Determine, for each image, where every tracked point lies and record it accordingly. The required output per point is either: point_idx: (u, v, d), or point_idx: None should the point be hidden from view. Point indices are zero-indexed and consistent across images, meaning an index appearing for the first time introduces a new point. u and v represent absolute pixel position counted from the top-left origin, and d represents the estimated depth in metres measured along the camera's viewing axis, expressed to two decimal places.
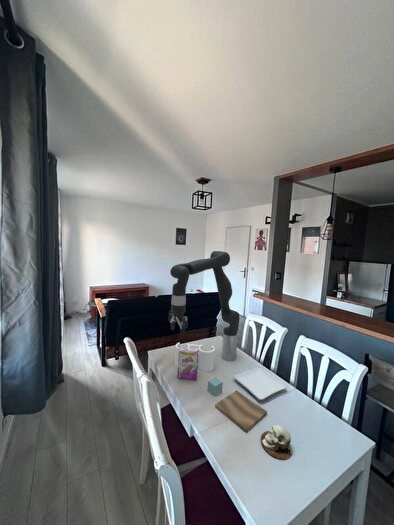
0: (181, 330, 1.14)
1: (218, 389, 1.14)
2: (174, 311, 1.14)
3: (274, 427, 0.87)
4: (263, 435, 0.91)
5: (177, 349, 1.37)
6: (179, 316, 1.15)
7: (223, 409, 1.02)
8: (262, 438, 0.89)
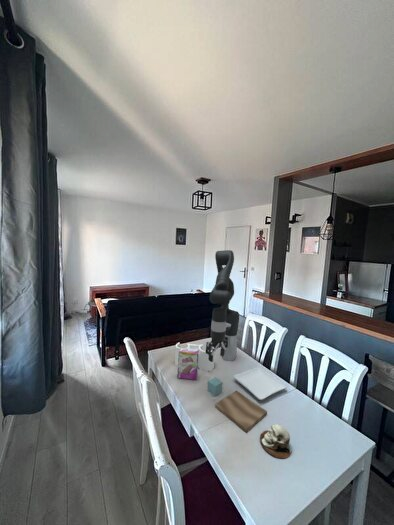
0: (224, 351, 1.17)
1: (218, 389, 1.14)
2: (224, 337, 1.12)
3: (273, 426, 0.87)
4: (262, 434, 0.91)
5: (177, 349, 1.37)
6: (222, 339, 1.15)
7: (223, 409, 1.02)
8: (261, 437, 0.89)
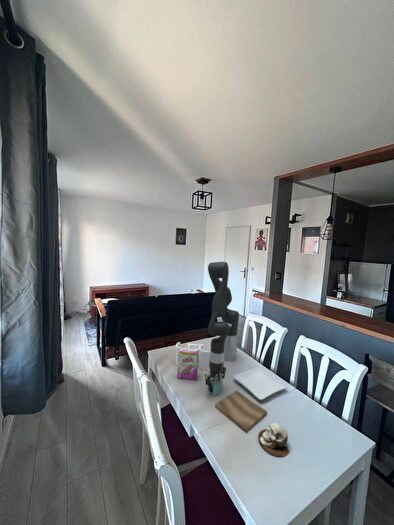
0: None
1: (218, 388, 1.14)
2: (222, 367, 1.14)
3: (271, 425, 0.88)
4: (261, 433, 0.92)
5: (177, 349, 1.37)
6: None
7: (223, 409, 1.02)
8: (259, 436, 0.90)
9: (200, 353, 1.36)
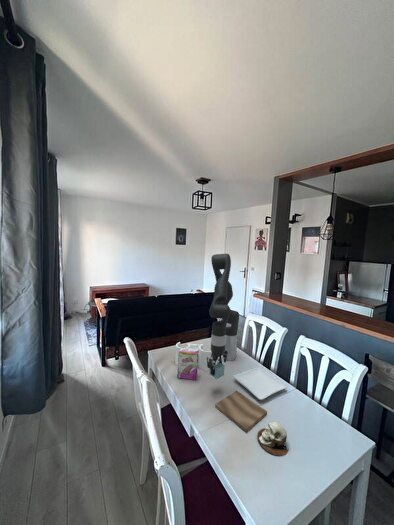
0: None
1: (220, 372, 1.13)
2: (224, 350, 1.13)
3: (270, 424, 0.88)
4: (260, 432, 0.92)
5: (177, 348, 1.37)
6: (222, 352, 1.16)
7: (223, 409, 1.02)
8: (259, 435, 0.90)
9: (200, 353, 1.36)
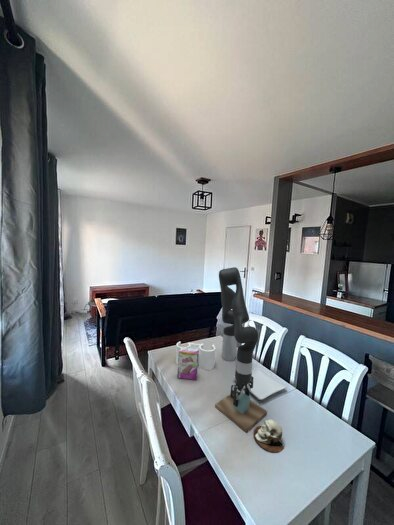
0: (249, 392, 1.06)
1: (245, 405, 1.01)
2: (251, 379, 1.01)
3: (266, 421, 0.90)
4: (256, 430, 0.93)
5: (178, 348, 1.38)
6: None
7: (223, 409, 1.02)
8: (255, 433, 0.91)
9: (200, 352, 1.37)
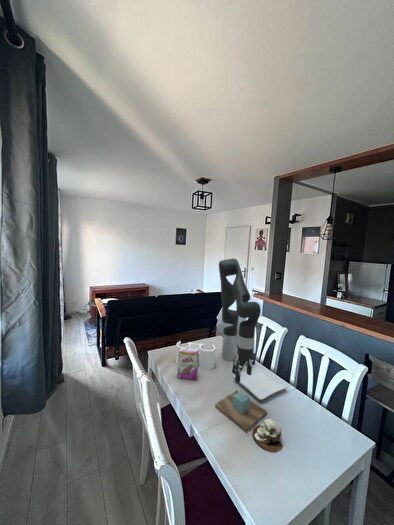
0: None
1: (245, 405, 1.01)
2: (253, 354, 0.99)
3: (265, 421, 0.90)
4: (255, 429, 0.93)
5: (178, 348, 1.38)
6: None
7: (223, 409, 1.02)
8: (254, 432, 0.92)
9: (200, 352, 1.37)
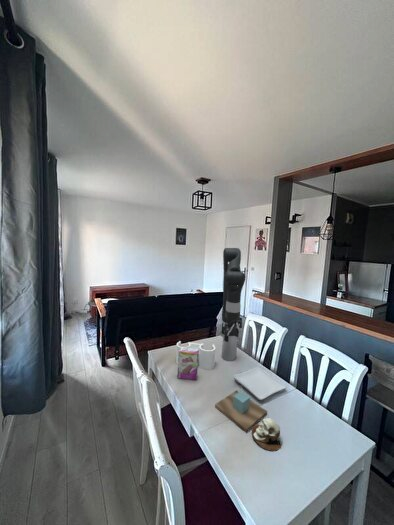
0: None
1: (245, 405, 1.01)
2: (239, 317, 1.13)
3: (264, 420, 0.90)
4: (254, 428, 0.94)
5: (178, 348, 1.39)
6: (237, 320, 1.16)
7: (223, 409, 1.02)
8: (253, 432, 0.92)
9: (200, 352, 1.37)
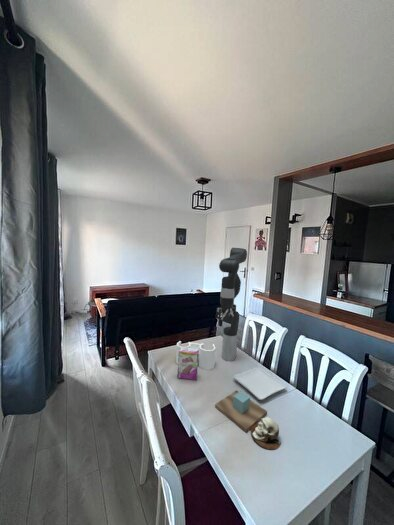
0: (232, 318, 1.25)
1: (245, 405, 1.01)
2: (233, 303, 1.20)
3: (263, 419, 0.91)
4: (253, 428, 0.94)
5: (178, 347, 1.39)
6: (231, 306, 1.23)
7: (223, 409, 1.02)
8: (252, 431, 0.92)
9: (200, 352, 1.37)
